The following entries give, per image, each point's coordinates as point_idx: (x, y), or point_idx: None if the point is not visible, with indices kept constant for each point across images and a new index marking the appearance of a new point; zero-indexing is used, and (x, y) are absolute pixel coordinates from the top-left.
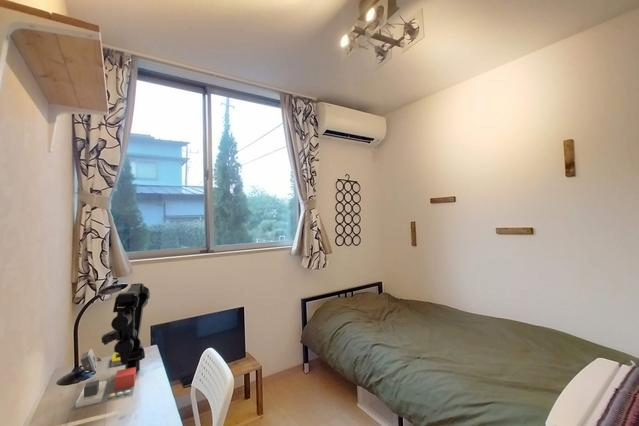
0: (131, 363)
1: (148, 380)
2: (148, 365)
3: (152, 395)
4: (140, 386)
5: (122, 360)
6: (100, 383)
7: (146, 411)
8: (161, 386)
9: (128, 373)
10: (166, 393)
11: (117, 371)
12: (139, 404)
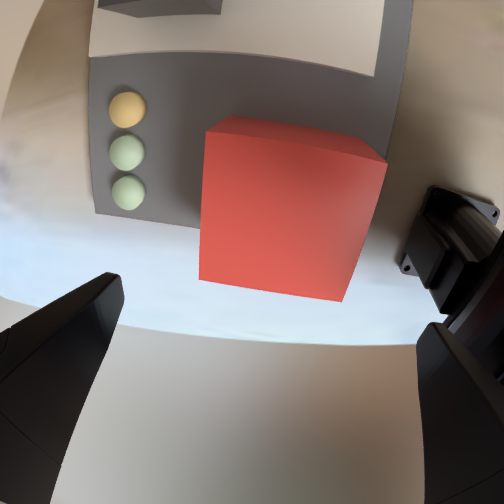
0: (450, 279)
1: None
2: None
3: None
4: None
5: (51, 311)
6: (349, 26)
7: (17, 245)
8: (173, 321)
9: (232, 244)
10: None
11: (359, 163)
12: (55, 229)
